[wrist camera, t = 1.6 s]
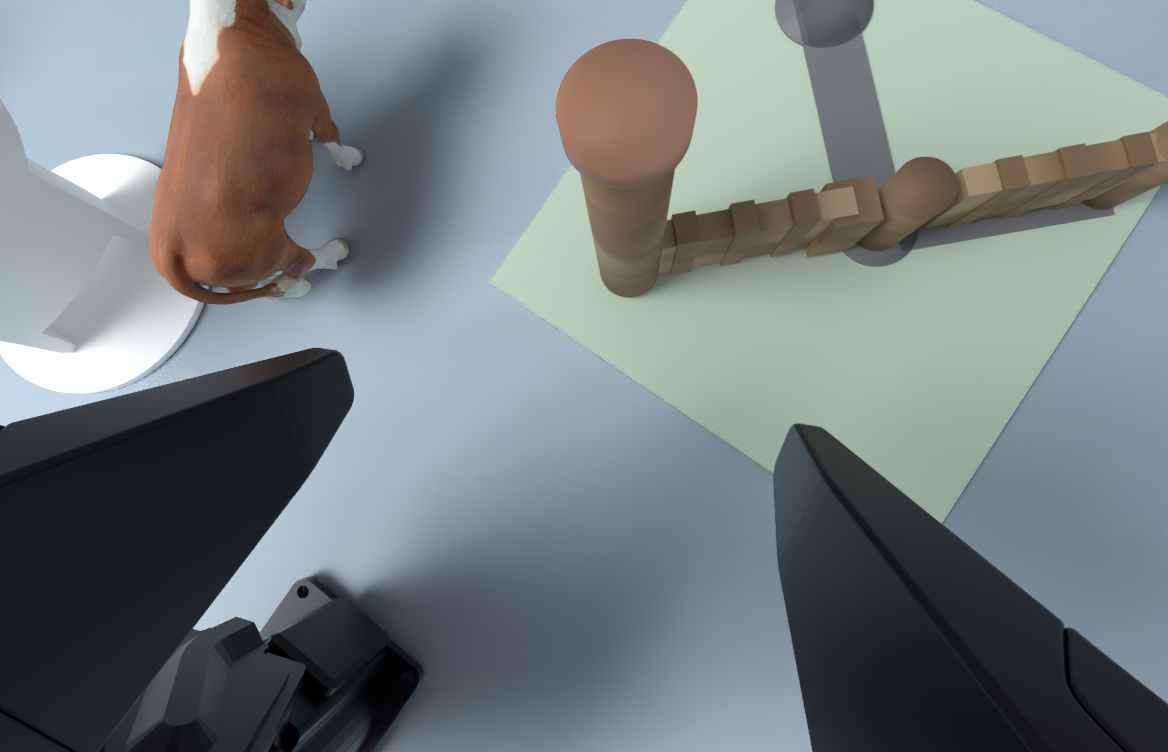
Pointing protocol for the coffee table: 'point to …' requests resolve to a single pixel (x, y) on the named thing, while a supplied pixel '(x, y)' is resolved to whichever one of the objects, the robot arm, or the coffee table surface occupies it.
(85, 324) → the white rounded piece
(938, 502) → the card
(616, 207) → the fence swing panel
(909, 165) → the fence fixed panel
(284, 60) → the bull figurine
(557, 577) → the coffee table surface
